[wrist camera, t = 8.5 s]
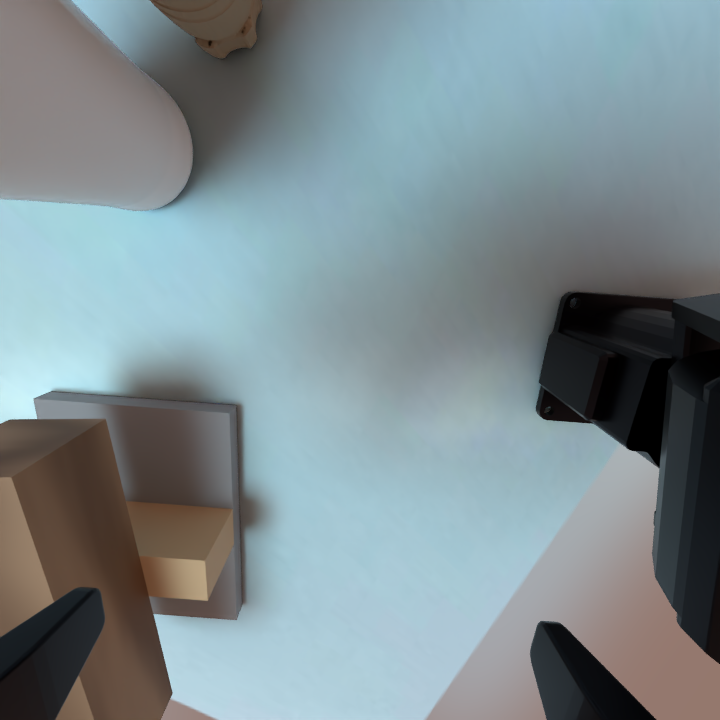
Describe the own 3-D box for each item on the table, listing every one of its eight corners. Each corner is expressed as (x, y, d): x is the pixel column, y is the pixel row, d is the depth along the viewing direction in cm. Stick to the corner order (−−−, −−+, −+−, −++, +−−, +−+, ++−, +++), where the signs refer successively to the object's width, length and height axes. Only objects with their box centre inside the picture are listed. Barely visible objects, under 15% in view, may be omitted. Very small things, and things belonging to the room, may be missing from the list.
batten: (105, 418, 14) (11, 477, 11) (172, 693, 19) (122, 804, 15) (9, 419, 15) (-118, 478, 11) (98, 692, 19) (30, 802, 15)
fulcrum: (236, 405, 19) (197, 449, 15) (242, 604, 23) (213, 685, 19) (50, 391, 19) (-43, 431, 15) (87, 593, 23) (23, 671, 19)
